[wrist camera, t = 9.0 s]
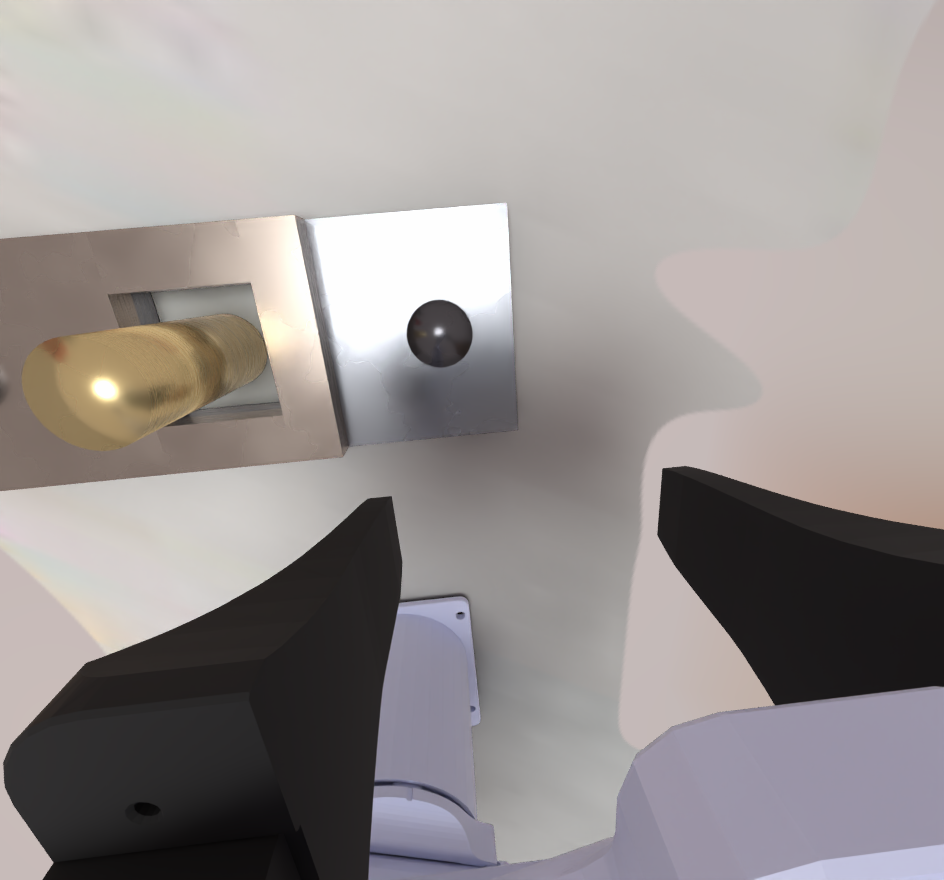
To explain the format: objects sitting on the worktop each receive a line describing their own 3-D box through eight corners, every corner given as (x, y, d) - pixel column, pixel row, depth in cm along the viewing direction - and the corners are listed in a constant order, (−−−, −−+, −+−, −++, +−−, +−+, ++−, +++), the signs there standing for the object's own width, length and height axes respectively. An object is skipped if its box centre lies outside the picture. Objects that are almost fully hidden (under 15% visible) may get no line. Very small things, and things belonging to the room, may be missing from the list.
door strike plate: (503, 207, 17) (514, 193, 15) (513, 421, 21) (525, 444, 18) (-121, 259, 17) (-235, 255, 14) (-11, 473, 20) (-86, 505, 17)
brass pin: (272, 384, 19) (162, 448, 12) (202, 385, 19) (45, 452, 12) (260, 313, 18) (132, 334, 11) (186, 314, 18) (3, 337, 11)
